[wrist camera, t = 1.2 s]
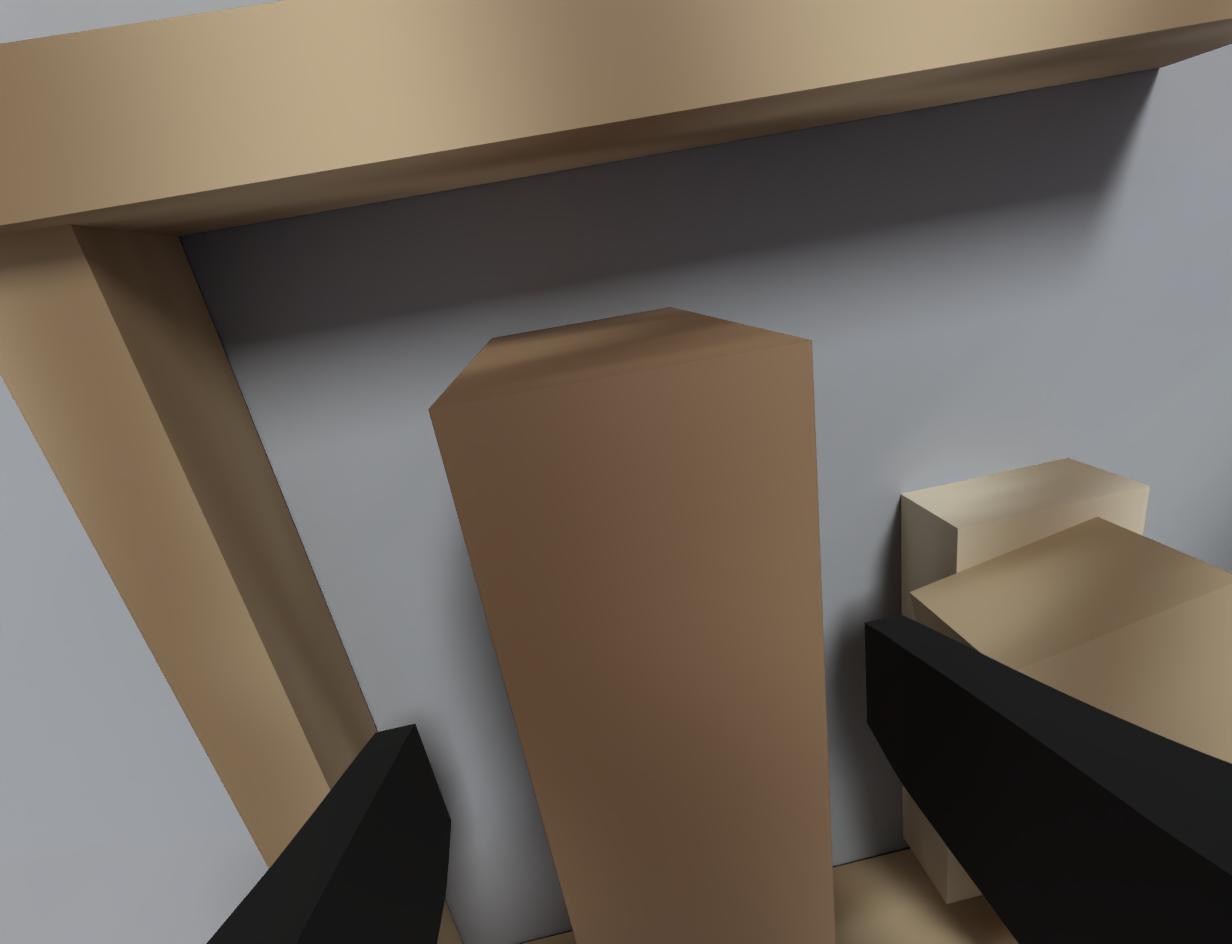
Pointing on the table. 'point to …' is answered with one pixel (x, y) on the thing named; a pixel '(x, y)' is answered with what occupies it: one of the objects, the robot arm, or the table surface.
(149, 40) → the oak rack
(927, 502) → the offcut low
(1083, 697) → the offcut top
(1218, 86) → the table surface
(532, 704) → the tall brown wooden post
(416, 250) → the table surface
